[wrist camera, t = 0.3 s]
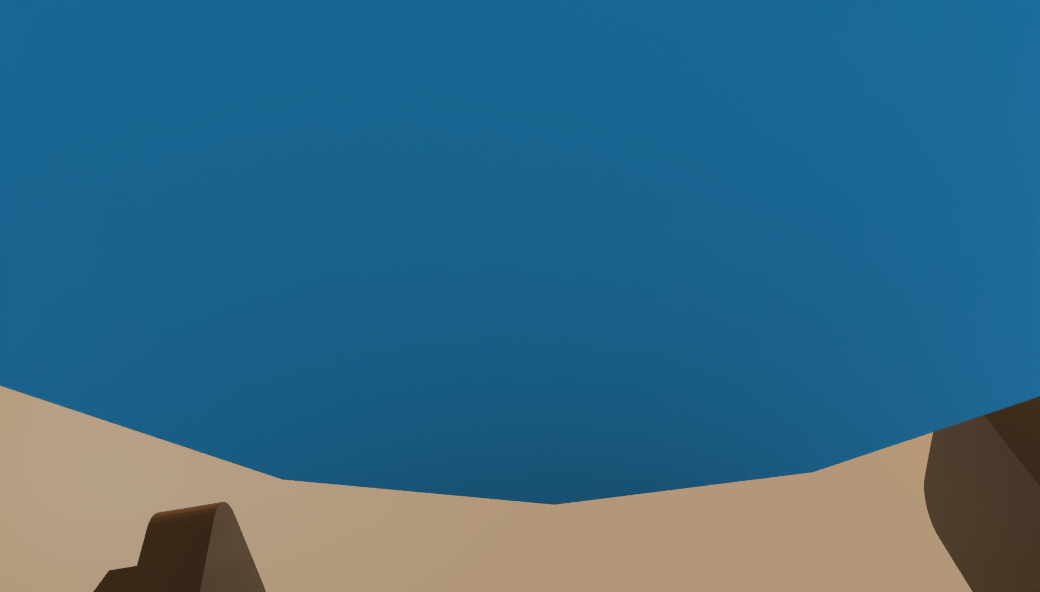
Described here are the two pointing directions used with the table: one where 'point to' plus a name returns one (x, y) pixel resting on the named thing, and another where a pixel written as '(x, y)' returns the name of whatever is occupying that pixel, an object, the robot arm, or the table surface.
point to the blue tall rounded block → (522, 232)
